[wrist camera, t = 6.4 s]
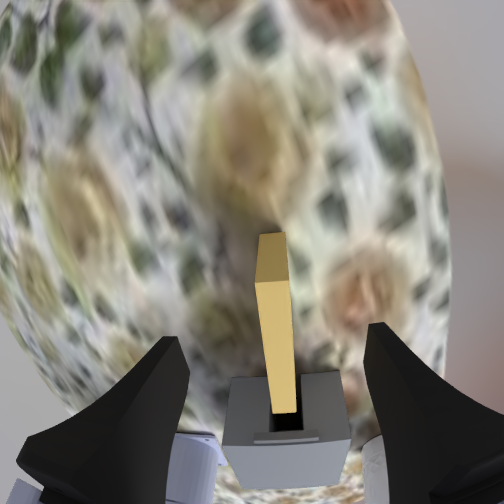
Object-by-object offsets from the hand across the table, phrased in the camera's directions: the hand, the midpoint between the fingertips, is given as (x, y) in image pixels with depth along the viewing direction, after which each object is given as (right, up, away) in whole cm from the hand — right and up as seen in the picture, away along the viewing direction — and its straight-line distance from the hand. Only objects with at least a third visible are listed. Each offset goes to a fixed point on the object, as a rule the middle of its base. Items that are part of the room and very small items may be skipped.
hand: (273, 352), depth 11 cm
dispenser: (+3, -11, +15) cm, 19 cm away
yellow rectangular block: (+1, 0, +9) cm, 9 cm away
